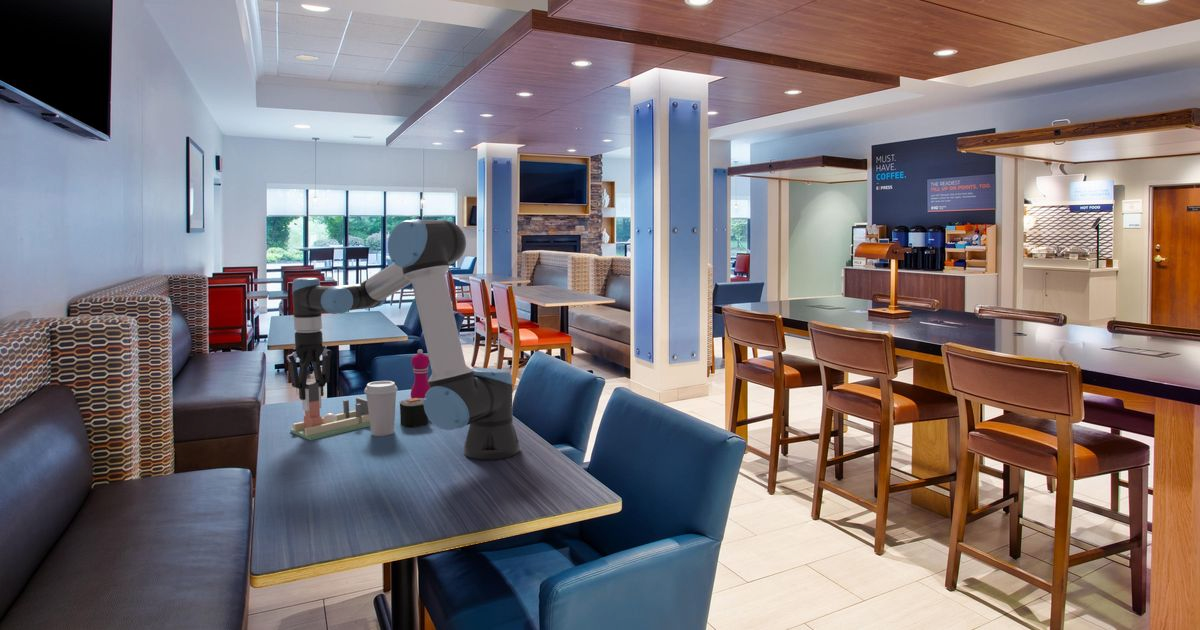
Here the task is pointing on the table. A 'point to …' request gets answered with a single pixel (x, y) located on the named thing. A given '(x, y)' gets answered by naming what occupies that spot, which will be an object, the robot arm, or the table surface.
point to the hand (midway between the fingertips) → (312, 408)
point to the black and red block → (313, 406)
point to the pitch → (337, 422)
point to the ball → (329, 418)
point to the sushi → (413, 413)
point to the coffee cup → (381, 406)
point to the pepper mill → (420, 375)
